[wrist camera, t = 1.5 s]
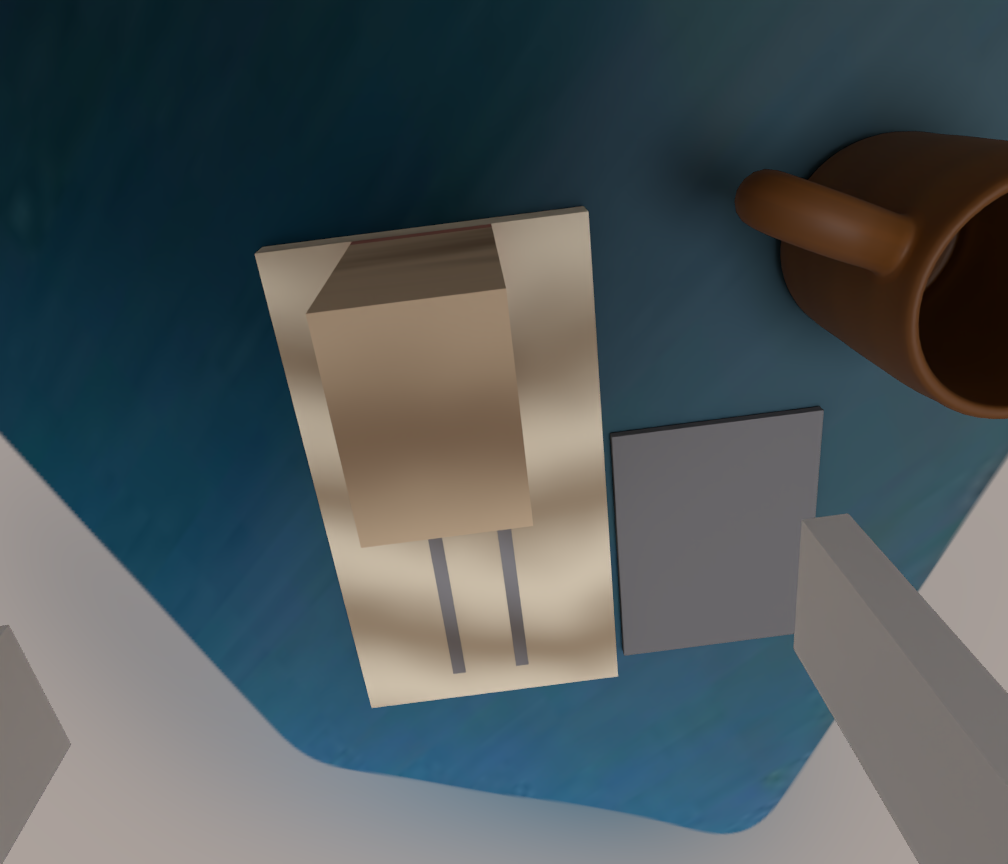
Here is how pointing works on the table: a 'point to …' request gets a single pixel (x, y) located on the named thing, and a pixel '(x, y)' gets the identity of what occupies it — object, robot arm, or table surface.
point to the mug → (902, 258)
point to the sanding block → (423, 386)
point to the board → (489, 555)
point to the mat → (712, 527)
